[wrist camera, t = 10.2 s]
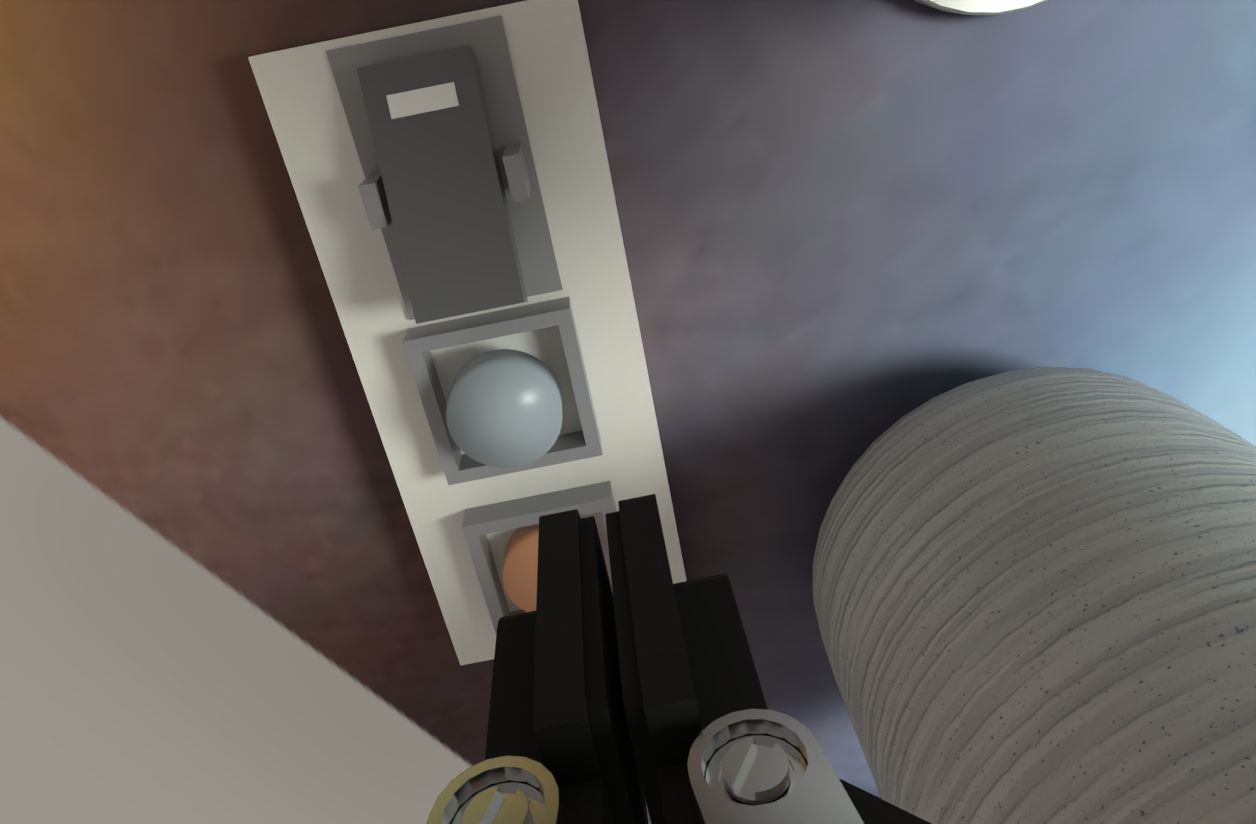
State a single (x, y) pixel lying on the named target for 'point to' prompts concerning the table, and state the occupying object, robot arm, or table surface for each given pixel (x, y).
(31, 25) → the table surface
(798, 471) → the table surface
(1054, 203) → the table surface
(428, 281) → the block
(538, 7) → the panel
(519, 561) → the orange button
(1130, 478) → the vase
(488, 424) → the grey button
